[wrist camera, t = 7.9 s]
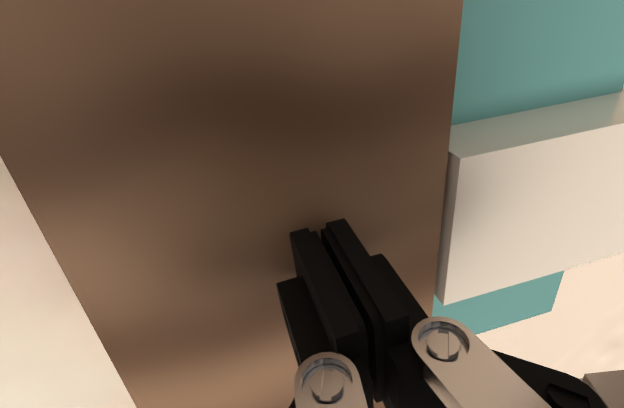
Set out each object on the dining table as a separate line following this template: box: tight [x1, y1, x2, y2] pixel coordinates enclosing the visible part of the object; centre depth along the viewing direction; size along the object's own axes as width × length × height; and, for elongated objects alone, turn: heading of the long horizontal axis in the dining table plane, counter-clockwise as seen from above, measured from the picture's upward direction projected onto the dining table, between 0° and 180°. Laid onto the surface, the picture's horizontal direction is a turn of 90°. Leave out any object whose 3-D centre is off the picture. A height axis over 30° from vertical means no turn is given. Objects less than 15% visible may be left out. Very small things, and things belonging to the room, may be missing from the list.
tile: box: [434, 91, 624, 306], centre depth 15 cm, size 9×6×2 cm, turn 95°
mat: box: [432, 0, 624, 335], centre depth 16 cm, size 18×8×1 cm, turn 5°
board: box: [0, 0, 463, 408], centre depth 14 cm, size 20×11×2 cm, turn 5°
